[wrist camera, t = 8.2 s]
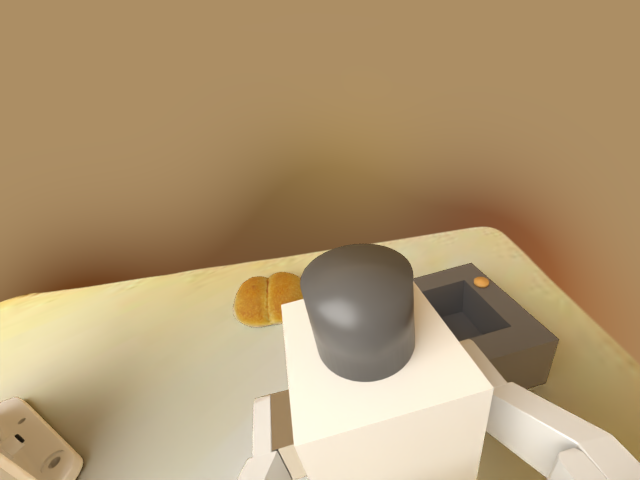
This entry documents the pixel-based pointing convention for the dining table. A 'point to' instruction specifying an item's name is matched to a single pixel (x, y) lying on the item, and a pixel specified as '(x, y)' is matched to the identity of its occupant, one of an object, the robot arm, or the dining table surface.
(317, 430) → the plug
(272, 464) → the robot arm
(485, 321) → the socket block
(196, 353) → the dining table surface
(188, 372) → the dining table surface
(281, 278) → the bread roll
